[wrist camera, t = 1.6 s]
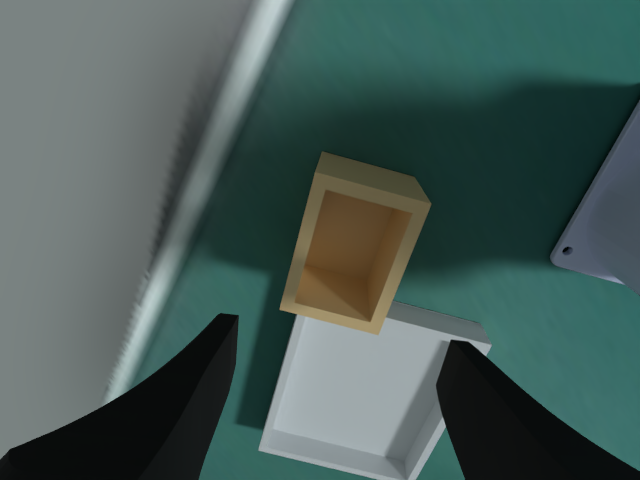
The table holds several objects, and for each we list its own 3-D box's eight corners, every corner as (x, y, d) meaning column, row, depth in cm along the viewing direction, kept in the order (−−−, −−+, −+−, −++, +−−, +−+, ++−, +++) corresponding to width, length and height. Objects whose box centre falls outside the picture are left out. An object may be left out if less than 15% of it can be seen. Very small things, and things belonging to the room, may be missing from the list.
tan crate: (322, 150, 20) (314, 172, 16) (414, 176, 20) (431, 204, 16) (291, 266, 23) (279, 309, 18) (373, 287, 23) (378, 335, 19)
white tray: (306, 277, 23) (302, 295, 21) (480, 323, 23) (492, 345, 21) (264, 425, 28) (258, 450, 26) (407, 460, 28) (411, 487, 27)
